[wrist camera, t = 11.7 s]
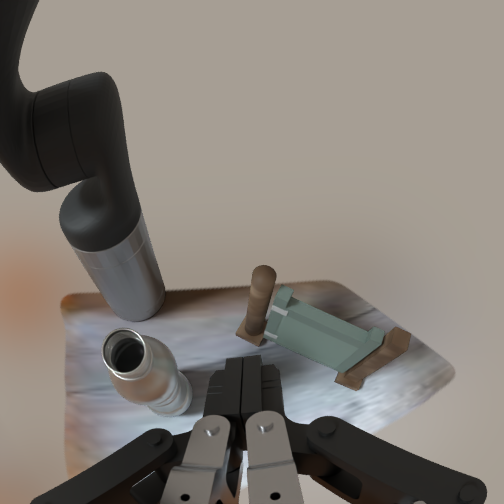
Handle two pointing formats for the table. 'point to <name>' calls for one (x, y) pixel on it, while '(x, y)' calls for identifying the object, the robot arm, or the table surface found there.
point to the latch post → (375, 358)
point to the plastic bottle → (146, 372)
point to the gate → (318, 333)
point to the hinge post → (257, 305)
